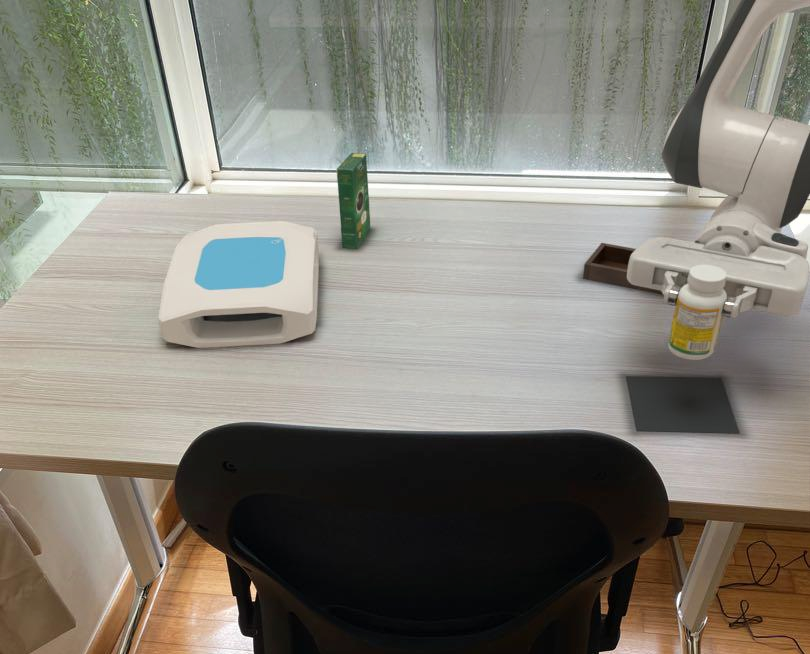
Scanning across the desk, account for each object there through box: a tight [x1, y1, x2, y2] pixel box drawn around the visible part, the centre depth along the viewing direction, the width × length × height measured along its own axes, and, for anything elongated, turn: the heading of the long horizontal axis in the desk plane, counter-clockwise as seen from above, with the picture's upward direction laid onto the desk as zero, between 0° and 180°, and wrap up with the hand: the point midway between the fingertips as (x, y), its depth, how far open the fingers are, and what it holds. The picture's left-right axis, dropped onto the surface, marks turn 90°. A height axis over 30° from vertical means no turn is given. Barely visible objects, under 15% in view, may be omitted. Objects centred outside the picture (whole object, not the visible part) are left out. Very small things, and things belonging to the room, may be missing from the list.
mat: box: [625, 375, 741, 435], centre depth 108 cm, size 12×12×1 cm
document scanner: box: [157, 220, 320, 349], centre depth 130 cm, size 21×28×6 cm
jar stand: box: [582, 242, 663, 295], centre depth 132 cm, size 15×8×3 cm, turn 63°
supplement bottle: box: [667, 265, 727, 361], centre depth 100 cm, size 5×5×10 cm
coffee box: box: [336, 152, 371, 250], centre depth 142 cm, size 8×3×13 cm, turn 165°
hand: (699, 305), depth 98 cm, fingers closed on supplement bottle, 5 cm apart
